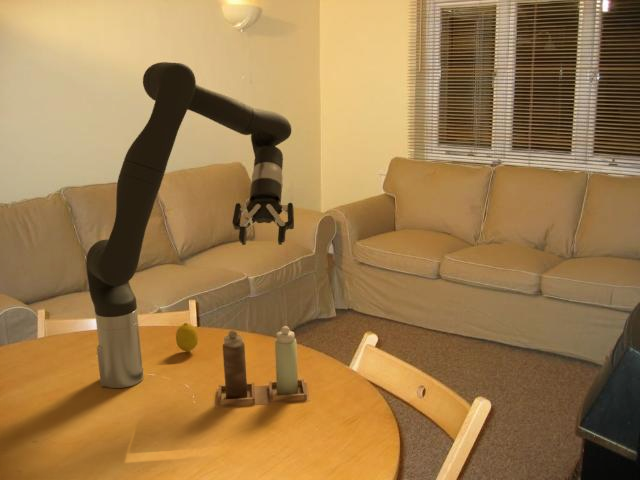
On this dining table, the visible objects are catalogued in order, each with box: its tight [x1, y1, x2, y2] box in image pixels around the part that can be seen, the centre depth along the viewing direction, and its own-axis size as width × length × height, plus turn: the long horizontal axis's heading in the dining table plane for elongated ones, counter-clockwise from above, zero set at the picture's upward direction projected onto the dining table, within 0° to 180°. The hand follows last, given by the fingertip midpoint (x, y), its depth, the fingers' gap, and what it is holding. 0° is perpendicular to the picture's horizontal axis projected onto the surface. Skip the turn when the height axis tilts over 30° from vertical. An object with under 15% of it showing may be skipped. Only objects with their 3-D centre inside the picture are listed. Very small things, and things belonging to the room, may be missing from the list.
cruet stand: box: [214, 378, 311, 409], centre depth 157 cm, size 20×9×2 cm, turn 96°
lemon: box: [175, 322, 199, 353], centre depth 183 cm, size 6×6×8 cm
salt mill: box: [274, 325, 299, 395], centre depth 156 cm, size 5×5×15 cm
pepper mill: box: [222, 329, 248, 399], centre depth 155 cm, size 5×5×15 cm
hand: (261, 243), depth 168 cm, fingers open, 8 cm apart
